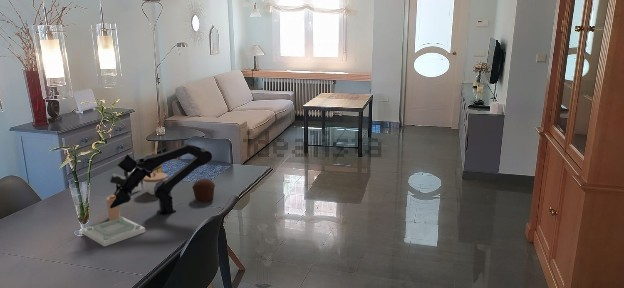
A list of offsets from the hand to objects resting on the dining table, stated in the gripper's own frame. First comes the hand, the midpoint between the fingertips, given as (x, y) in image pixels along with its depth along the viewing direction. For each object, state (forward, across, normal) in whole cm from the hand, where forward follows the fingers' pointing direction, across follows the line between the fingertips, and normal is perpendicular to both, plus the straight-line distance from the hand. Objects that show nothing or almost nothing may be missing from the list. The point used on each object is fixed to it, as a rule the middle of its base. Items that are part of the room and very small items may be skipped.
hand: (110, 204), depth 213 cm
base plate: (+4, +17, +6) cm, 18 cm away
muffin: (-26, -12, +36) cm, 46 cm away
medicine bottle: (-1, -38, +11) cm, 39 cm away
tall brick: (+4, 0, +6) cm, 7 cm away
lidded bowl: (-10, -30, +20) cm, 37 cm away
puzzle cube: (-9, -62, +19) cm, 65 cm away
